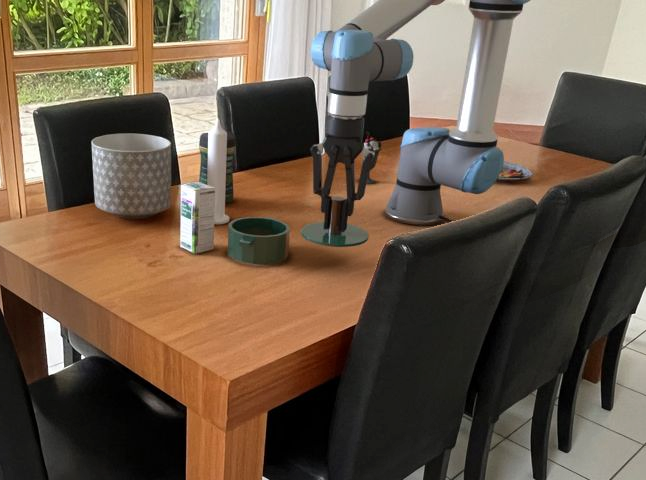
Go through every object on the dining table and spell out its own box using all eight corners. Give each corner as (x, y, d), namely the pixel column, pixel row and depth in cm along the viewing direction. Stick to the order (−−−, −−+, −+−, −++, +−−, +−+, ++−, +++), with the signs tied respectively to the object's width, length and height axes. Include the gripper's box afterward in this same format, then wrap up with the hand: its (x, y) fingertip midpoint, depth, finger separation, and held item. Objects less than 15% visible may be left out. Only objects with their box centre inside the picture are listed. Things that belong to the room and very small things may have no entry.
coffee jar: (213, 208, 198) (214, 136, 189) (192, 201, 203) (193, 130, 193) (238, 201, 204) (241, 132, 195) (218, 195, 209) (220, 126, 200)
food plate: (539, 187, 234) (542, 176, 233) (466, 183, 234) (468, 171, 232) (517, 167, 256) (519, 157, 254) (450, 163, 256) (451, 153, 254)
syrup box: (179, 247, 171) (179, 184, 164) (200, 242, 174) (200, 180, 167) (194, 254, 167) (194, 190, 160) (215, 249, 171) (216, 186, 164)
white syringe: (219, 226, 185) (221, 122, 173) (196, 220, 188) (197, 117, 176) (234, 219, 191) (238, 118, 178) (212, 214, 194) (214, 113, 181)
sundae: (353, 182, 228) (359, 132, 220) (359, 177, 233) (365, 128, 226) (374, 185, 226) (380, 135, 218) (379, 180, 231) (386, 131, 224)
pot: (298, 247, 175) (300, 219, 172) (272, 274, 159) (274, 244, 156) (243, 238, 179) (245, 210, 175) (213, 264, 163) (214, 234, 159)
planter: (79, 214, 188) (74, 140, 179) (134, 199, 201) (132, 130, 192) (133, 232, 178) (130, 155, 169) (186, 215, 192) (187, 143, 183)
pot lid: (374, 232, 165) (379, 193, 161) (359, 254, 153) (364, 212, 149) (311, 223, 169) (314, 185, 165) (292, 243, 157) (294, 202, 153)
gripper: (389, 116, 149) (375, 229, 161) (312, 108, 154) (304, 218, 165) (382, 123, 143) (368, 239, 155) (302, 114, 148) (294, 228, 159)
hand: (335, 228), depth 160 cm, fingers closed on pot lid, 3 cm apart
